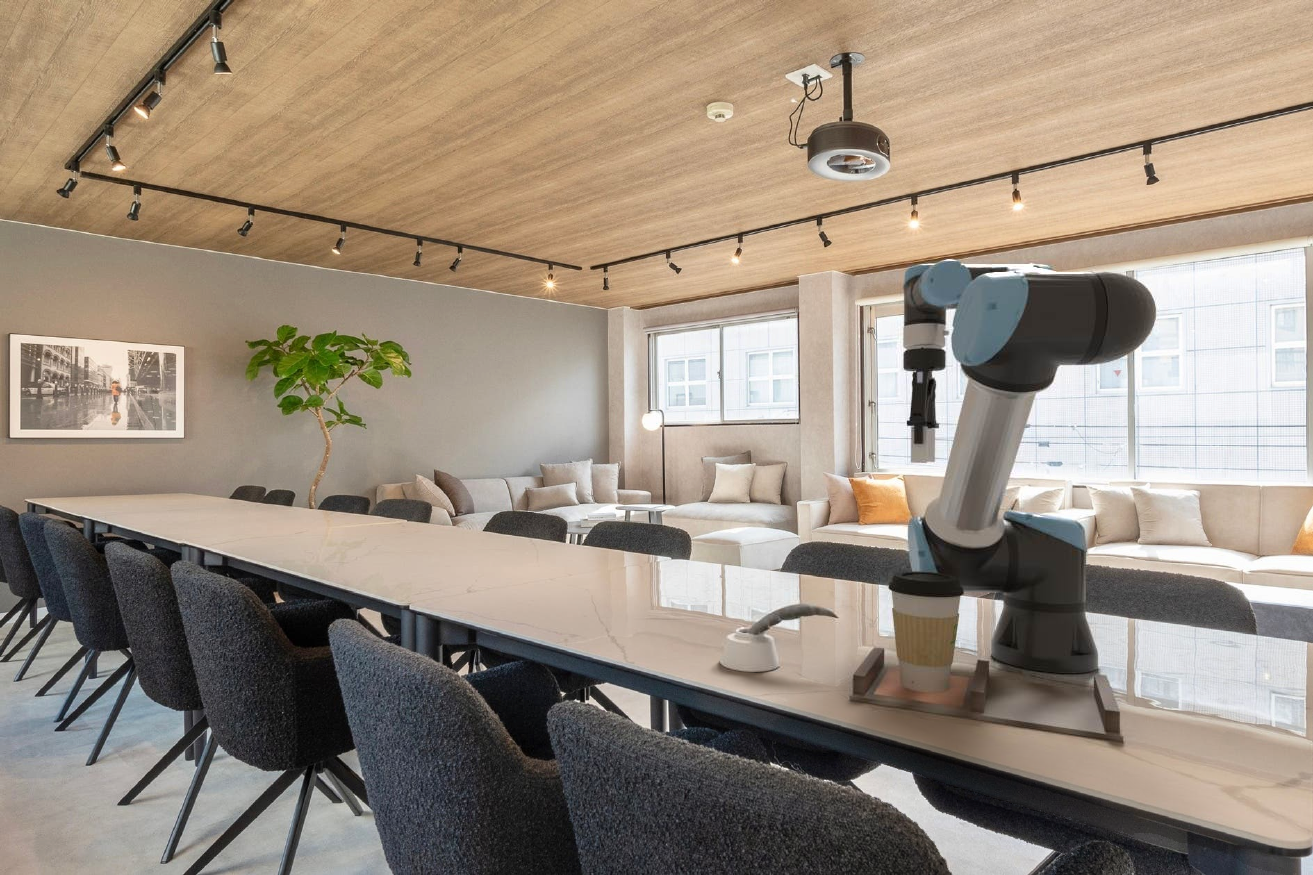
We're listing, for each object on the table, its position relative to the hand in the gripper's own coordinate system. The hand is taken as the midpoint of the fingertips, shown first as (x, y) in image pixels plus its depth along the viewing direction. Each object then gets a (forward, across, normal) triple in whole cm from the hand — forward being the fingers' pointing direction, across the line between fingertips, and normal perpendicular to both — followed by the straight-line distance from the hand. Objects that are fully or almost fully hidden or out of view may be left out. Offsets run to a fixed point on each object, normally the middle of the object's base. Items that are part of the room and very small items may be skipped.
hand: (923, 462), depth 144 cm
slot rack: (+31, -40, -12) cm, 52 cm away
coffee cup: (+30, -40, -5) cm, 50 cm away
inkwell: (+31, -38, +16) cm, 52 cm away
